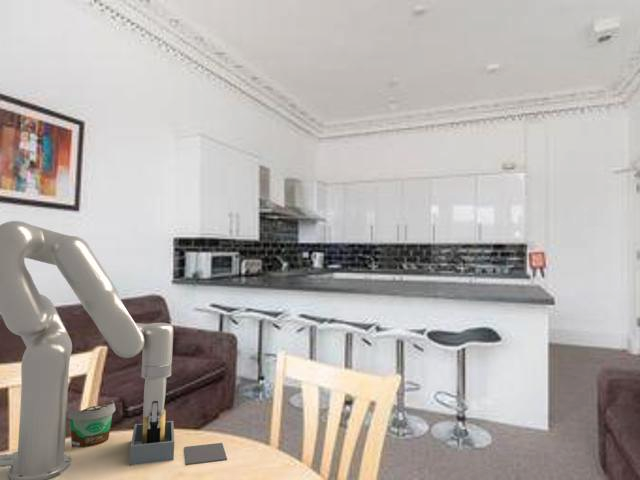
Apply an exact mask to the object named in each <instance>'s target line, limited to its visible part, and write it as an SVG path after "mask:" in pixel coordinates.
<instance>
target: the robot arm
mask: <svg viewBox="0 0 640 480" xmlns="http://www.w3.org/2000/svg"><path fill="white" fill-rule="evenodd" d="M25 259H29V260H33V261H36V262H41V263H44V264H45V263H46V264H49V265H52V266H56V267H57V269H58V271H59V272H60V274H61V275H62V276H63V278H64V279H65V281H66V282H67V284H68V285H69V287H70V288H71V290H72V291H73V293H74V294H75V296H76V297H77V299H78V300H79V302H80V303H81V305H82V306H83V309H84V310H85V311H86V313H87V315H89V316H90V318H91V320H92V321H93V322H94V324H95V326H96V327H97V329H98V330H99V332H100V334H101V336H103V339H105V341H106V342H107V344H108V346H109V347H110V349H111V350H112V351H113V352H114V354H116V355H117V356H118V357H121V358H127V359H129V358H134V357H135V356H137V355H138V354H140V353H141V351H142V359H141V375H140V376H141V378H143V379H145V380H144V390H143V391H144V392H143V409H142V418H143V417H144V418H146V417H148V416H149V423H148V428H147V443H146V444H149V443H158V442H160V427H159V426H160V417H161V416H162V415H163V410H164V409H165V403H166V402H165V400H166V390H167V389H166V388H167V378H169V377H171V376H172V366H173V348H174V347H173V345H174V326H173V325H172V324H171V323H167V322H152V323H141V322H140V323H139V322H135V321H134V319H133V317H132V316H131V314H130V313H129V311H128V310H127V308H126V307H125V305H124V303H123V300H122V299H121V297H120V295H119V292H118V290H117V288H116V286H115V284H114V282H113V281H112V279H111V278H110V276H109V275H108V274H107V272H106V269H104V267H103V266H102V264H101V262H100V261H99V259H98V258H97V257H96V255H95V254H94V252H93V250H92V249H91V247H90V245H89V244H88V242H87V241H85V240H84V239H83V238H81V237H79V236H73V235H68V234H64V233H61V232H57V231H52V230H49V229H45V228H42V227H39V226H36V225H33V224H30V223H27V222H24V221H21V220H20V221H19V220H11V221H7V222H4V223H2V224H0V315H1V317H2V319H3V322H4V324H5V326H6V328H7V329H8V331H10V332H11V333H12V334H15V336H16V335H17V336H20V337H21V339H22V341H23V344H24V345H25V350H24V353H23V355H22V359H21V366H20V367H21V368H20V370H21V371H20V372H21V389H20V393H21V394H20V407H19V408H20V409H19V424H18V425H19V426H18V427H19V428H18V443H17V452H16V451H14V452H13V453H12V454H11V453H10V454H0V468H4V467H9V469H8V472H7V474H8V475H7V477H8V479H10V480H47V479H50V478H54V477H56V476H58V475H60V474H61V473H63V472H64V471H66V470H67V469H68V468H69V467H70V466H71V464H72V458H71V456H70V455H68V454H65V447H66V430H67V429H66V428H67V416H68V415H67V410H68V394H69V393H68V392H69V376H70V375H69V372H70V369H69V368H70V360H71V355H72V352H73V343H72V339H71V337H70V335H69V333H68V331H67V329H66V327H65V324H64V323H63V320H62V319H61V317H60V315H59V312H58V311H57V309H56V306H55V305H54V304H53V302H52V300H51V299H50V298H48V297H47V296H45V295H44V294H40V292H39V291H38V288H37V286H36V284H35V282H34V281H33V278H32V275H31V274H30V272H29V270H28V268H27V266H26V263H25ZM157 413H159V416H157ZM150 414H152V416H150ZM157 418H158V420H157ZM151 419H152V421H151Z"/></svg>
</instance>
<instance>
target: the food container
mask: <svg viewBox="0 0 640 480" xmlns="http://www.w3.org/2000/svg"><path fill="white" fill-rule="evenodd" d="M115 412H116V405H115V402H114V400H112V399H111V401H110V403H109V402H108V403H106V404H103V405H94V406H89V407H87V408H85V409H82V410H78V411H76V410H72V409H70V410H69V412H68V415H67V419H69V420H70V421H69V422H70V423H69V424H70V442H71V443H70V444H71V447H72V448H74V447H77V448H89V447H96V446H99V445H100V444H103V443H106V442H107V441H108V440H109V438H110V431H111V426H112V420H113V419H112V418H113V414H114V413H115Z"/></svg>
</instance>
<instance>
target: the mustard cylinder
mask: <svg viewBox="0 0 640 480" xmlns="http://www.w3.org/2000/svg"><path fill="white" fill-rule="evenodd" d="M166 413H167V412H166V409H165V408H164V410H163V415H162V416H161V417H160V426H159V427H160V442H164V435H165V422H166ZM150 416H152V414H150ZM157 416H159V413H157ZM157 420H158V418H157ZM151 421H152V419H151ZM148 423H149V416H148V417H146V418H144V417H143V416H142V424H143V434H142V444H146V443H147V428H148Z"/></svg>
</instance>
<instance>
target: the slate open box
mask: <svg viewBox="0 0 640 480" xmlns="http://www.w3.org/2000/svg"><path fill="white" fill-rule="evenodd" d="M174 423H175V422H174V420H167V421H166V420H165V435H164V442H158V443H149V444H142V434H143V423H135V424H134V427H133V432H132V437H131V442H130V450H129V451H130V453H129V454H130V457H129V466H135V465H143V464H151V463H159V462H169V461H174V458H175V455H174V454H175V426H174V425H175V424H174Z"/></svg>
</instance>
